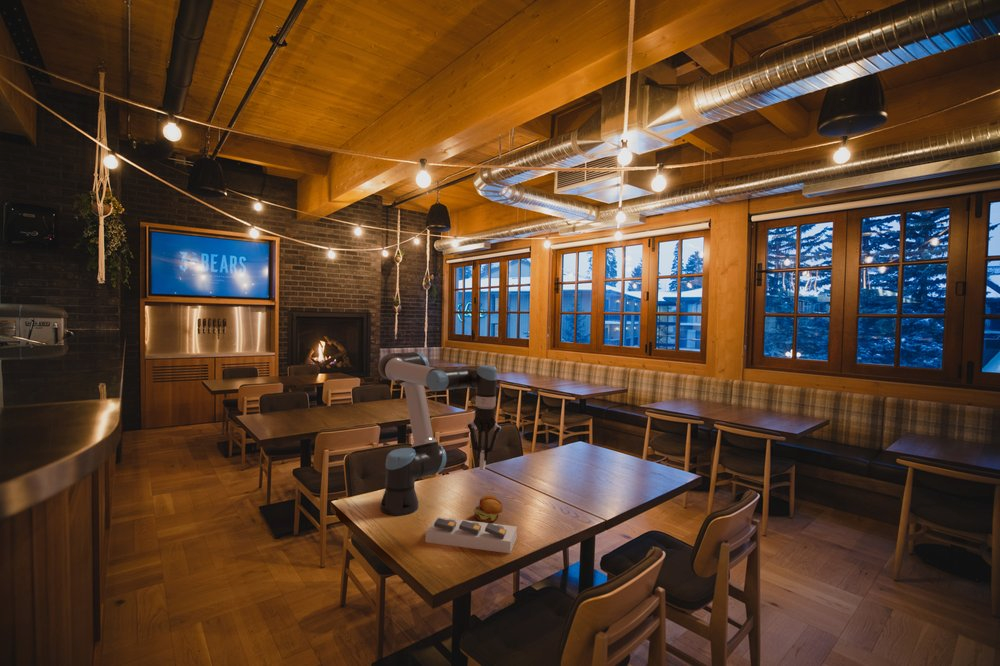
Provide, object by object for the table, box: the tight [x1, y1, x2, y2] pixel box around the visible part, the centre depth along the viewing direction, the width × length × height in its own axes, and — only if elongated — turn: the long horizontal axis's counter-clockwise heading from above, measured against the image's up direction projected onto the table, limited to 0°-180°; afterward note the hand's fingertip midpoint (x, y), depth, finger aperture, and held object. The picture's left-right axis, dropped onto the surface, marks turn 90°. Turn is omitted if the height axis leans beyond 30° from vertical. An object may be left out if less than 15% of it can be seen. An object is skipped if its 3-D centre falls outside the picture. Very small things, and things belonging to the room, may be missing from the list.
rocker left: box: [434, 518, 456, 531], centre depth 165 cm, size 7×4×2 cm, turn 78°
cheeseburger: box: [473, 494, 503, 523], centre depth 185 cm, size 10×11×10 cm
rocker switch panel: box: [425, 516, 518, 554], centre depth 166 cm, size 30×12×4 cm, turn 78°
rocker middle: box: [459, 520, 481, 535], centre depth 163 cm, size 7×4×2 cm, turn 78°
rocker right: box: [485, 522, 507, 539], centre depth 161 cm, size 7×4×2 cm, turn 78°
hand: (482, 468), depth 178 cm, fingers closed
